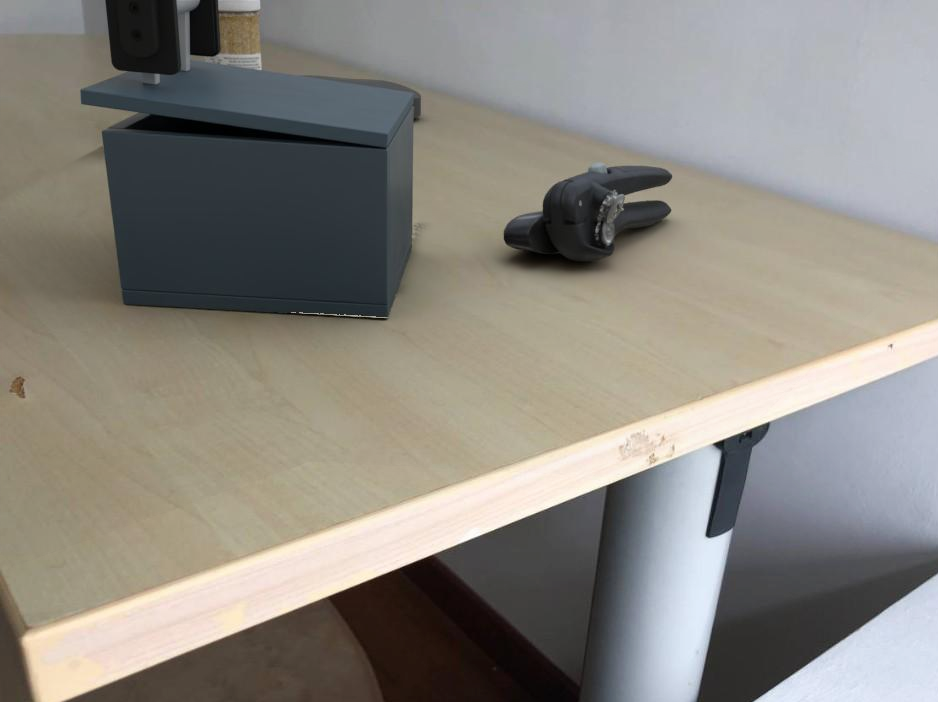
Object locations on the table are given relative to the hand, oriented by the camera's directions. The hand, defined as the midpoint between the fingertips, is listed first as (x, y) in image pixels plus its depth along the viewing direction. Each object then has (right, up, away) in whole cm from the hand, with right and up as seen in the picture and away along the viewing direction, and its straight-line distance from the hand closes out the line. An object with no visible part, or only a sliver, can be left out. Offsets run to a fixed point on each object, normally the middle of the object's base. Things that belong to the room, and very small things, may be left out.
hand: (170, 59), depth 51 cm
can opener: (+24, -7, +16) cm, 29 cm away
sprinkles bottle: (-5, +2, +30) cm, 30 cm away
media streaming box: (-2, +12, +50) cm, 52 cm away
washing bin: (+5, -10, +5) cm, 13 cm away
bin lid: (+5, -2, +1) cm, 5 cm away
